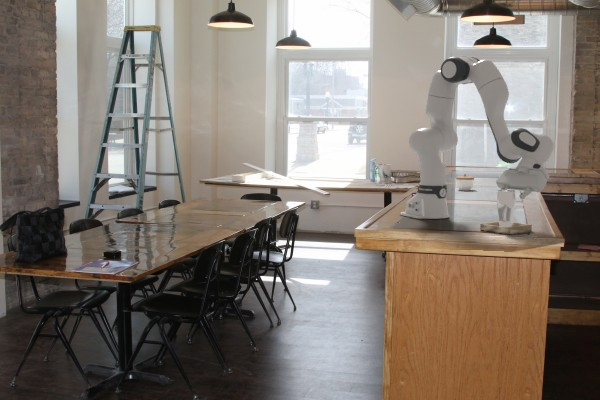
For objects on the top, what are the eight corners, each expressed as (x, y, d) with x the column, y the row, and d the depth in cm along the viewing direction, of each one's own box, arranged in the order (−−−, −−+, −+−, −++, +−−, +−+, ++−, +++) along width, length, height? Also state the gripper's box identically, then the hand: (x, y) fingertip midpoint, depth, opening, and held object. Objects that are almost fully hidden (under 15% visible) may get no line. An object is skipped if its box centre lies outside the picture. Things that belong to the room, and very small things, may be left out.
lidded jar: (472, 189, 447) (473, 173, 446) (475, 191, 437) (475, 175, 436) (454, 189, 449) (454, 173, 447) (456, 190, 438) (456, 175, 437)
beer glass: (501, 231, 283) (502, 191, 281) (492, 228, 290) (493, 190, 288) (518, 230, 285) (519, 191, 283) (509, 227, 291) (510, 189, 290)
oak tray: (480, 230, 288) (480, 223, 288) (502, 227, 296) (503, 220, 296) (508, 235, 278) (509, 228, 277) (531, 231, 286) (531, 224, 285)
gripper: (503, 163, 299) (486, 189, 294) (546, 166, 282) (529, 193, 278) (509, 173, 302) (493, 199, 297) (553, 177, 285) (536, 204, 281)
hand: (511, 196), depth 287 cm, fingers open, 8 cm apart
